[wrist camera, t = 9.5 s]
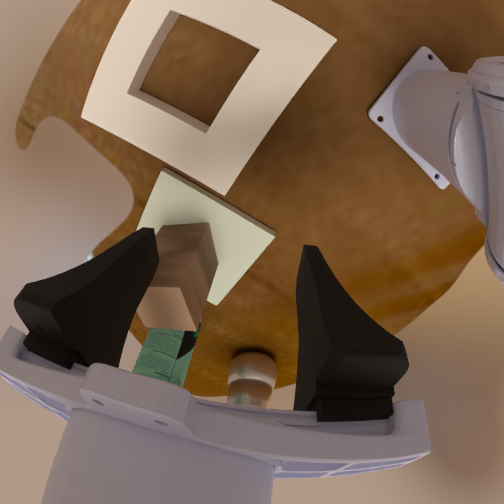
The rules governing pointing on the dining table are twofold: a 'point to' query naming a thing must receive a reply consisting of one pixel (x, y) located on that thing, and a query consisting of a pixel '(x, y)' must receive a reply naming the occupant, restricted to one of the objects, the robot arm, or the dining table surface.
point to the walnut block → (180, 277)
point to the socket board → (237, 104)
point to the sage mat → (221, 224)
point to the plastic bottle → (251, 380)
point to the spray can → (166, 354)
